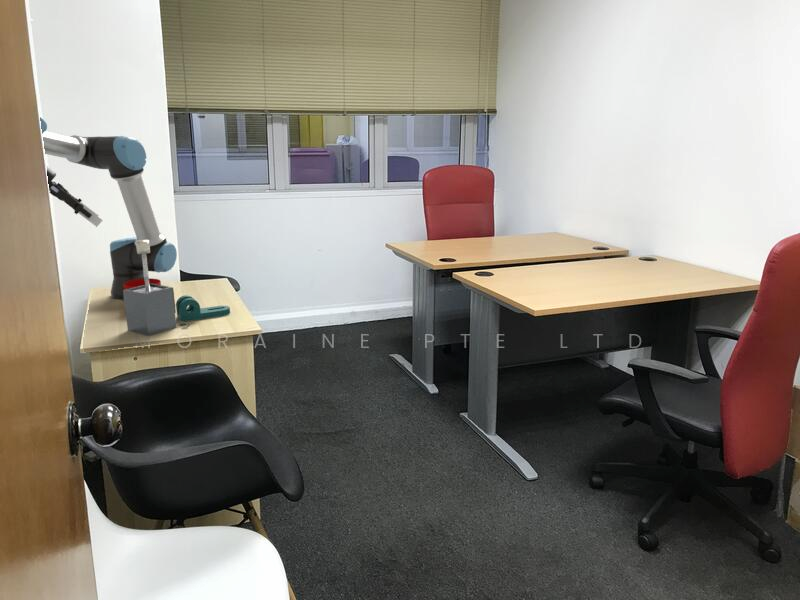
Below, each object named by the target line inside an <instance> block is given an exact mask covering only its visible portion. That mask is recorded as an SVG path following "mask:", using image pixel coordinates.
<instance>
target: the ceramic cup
mask: <svg viewBox="0 0 800 600" xmlns="http://www.w3.org/2000/svg"><path fill="white" fill-rule="evenodd" d="M151 283H152V284H158V285H162V282H161V279H158V278H149V284H151ZM142 285H145V280H144V279H136V280H131V281H128V282H125V283H124V290H125V289H129V288H134V287H138V286H142Z"/></svg>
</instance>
